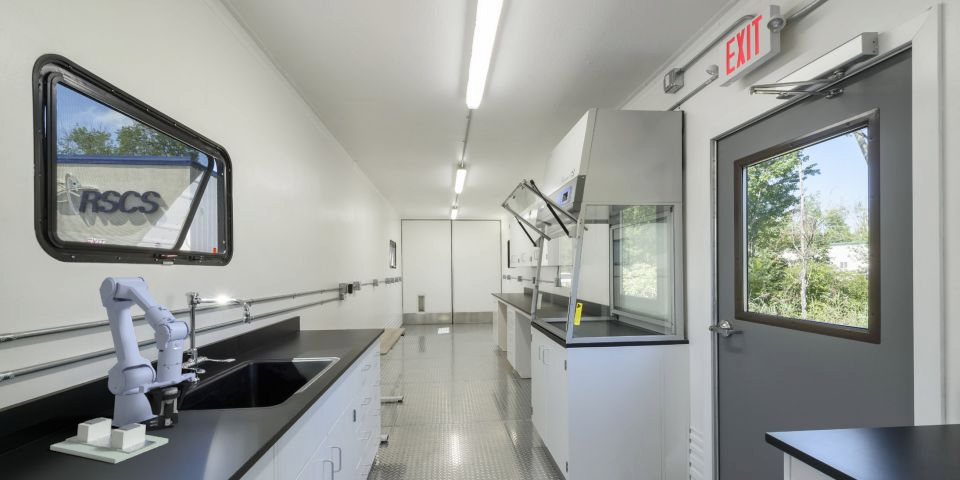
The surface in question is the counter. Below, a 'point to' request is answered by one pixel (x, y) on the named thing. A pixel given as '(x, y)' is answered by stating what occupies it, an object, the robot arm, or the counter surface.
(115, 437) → the mounted modules
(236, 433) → the counter surface
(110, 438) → the rail
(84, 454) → the mounting board
